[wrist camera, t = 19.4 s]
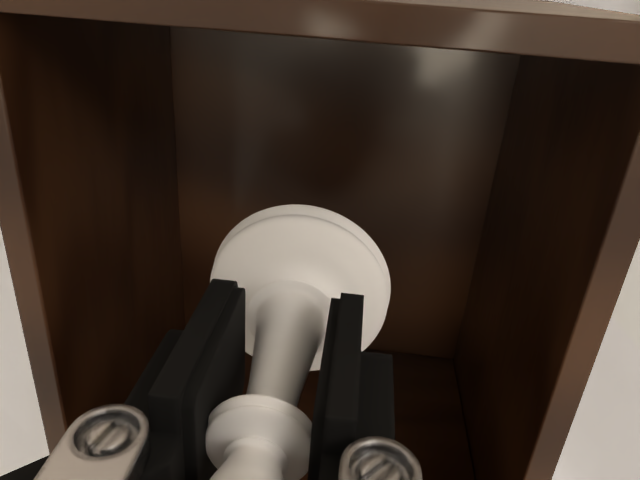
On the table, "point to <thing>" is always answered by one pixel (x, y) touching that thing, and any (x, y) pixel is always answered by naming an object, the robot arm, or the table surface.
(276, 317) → the chess piece
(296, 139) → the chest
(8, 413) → the table surface
